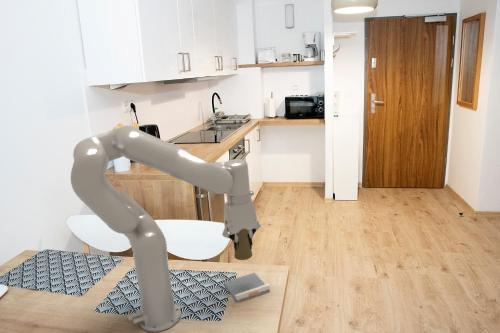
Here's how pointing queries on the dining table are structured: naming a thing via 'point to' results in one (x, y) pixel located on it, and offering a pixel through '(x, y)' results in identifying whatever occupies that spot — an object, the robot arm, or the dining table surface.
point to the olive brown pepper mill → (243, 246)
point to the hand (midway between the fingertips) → (243, 249)
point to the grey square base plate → (246, 287)
